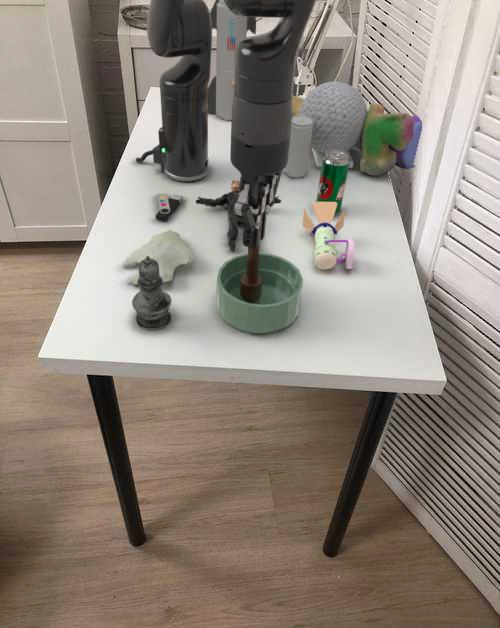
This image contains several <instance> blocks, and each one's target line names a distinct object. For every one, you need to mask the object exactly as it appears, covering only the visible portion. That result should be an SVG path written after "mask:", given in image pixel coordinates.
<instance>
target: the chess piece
mask: <svg viewBox="0 0 500 628" xmlns="http://www.w3.org/2000/svg"><path fill="white" fill-rule="evenodd" d="M138 268H139V277H140V278H139V279H138V281H137V284H138V285H137V286H138V287H139V292H137V293H136V294H135V295H134V297H132V300H131V305H132V308H133V309H134V311H135V313H136V317H135V322H136V324H137V326H138V327H139V328H141V329H143V330H146V331H151V332H152V331H158V330H162V329H164V328H166V327H167V326H168V325H169V324H170V322H171V318H172V316H171V313H170V312H169V309H170V307H171V305H172V302H173V301H172V300H173V299H172V297H171V295H170V294H169V293H168V292H166V290H163V289H162V285H163V283H164V282H163V281H162V278H161V277H160V275H159V265H158V263H157V261H155V260H154V259H150V257H149V256H147V257H146V258H145V259H144V260H142V261H141V262H140V263H138V265H137V269H138Z"/></svg>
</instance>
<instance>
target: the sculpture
mask: <svg viewBox="0 0 500 628" xmlns="http://www.w3.org/2000/svg"><path fill="white" fill-rule="evenodd" d="M367 111H368V113H367V117H366V120H365V124H364V128H363V135H362V143H361V159H360V162H359V165H360V167H359V168H360V169H359V170H360V172H361V173H365V174H367V175H370V176H381V175H384V174H387V173H389V172H390V171H392V170H393V169H394V167H395V166H396V165H395V163H396V159H397V155H396V152H395V151H393V150H389V149H388V146H389V144H390V145H391V146H392V147H393V148H395V149H396V150H399V151H402V150H403V149H404V148H405V147H406V145H407V144H408V143H409V142H410V141H411V140H412V139H413V126H414V124H415V121H414V119H413V117H412V115H411V114H409V113H407V112H395V113H387V112H386V113H387V114H383V112H385V107H384V105H382V104H381V103H378V102H372V103H370V105H369V107H368V109H367Z"/></svg>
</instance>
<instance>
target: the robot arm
mask: <svg viewBox="0 0 500 628" xmlns="http://www.w3.org/2000/svg"><path fill="white" fill-rule="evenodd" d="M317 1H318V0H224V2H225V4H226V5H227V7H228V8H229V9H230V10H231V12H233V13H234V14H235V15H238V16H242V17H256V18H280V19H279V21H278V23H277V24H276V25H275V27H273V28H272V29H271V30H269V31H267V32H264V33H261V34H257V35H256V34H255V35H253V36H249V37H246V39H244V40H242V41H241V42H240V43H239V44H238V46H237V49H236V57H235V91H234V99H233V105H232V120H230V121H231V123H230V125H231V126H230V153H229V154H230V155H229V156H230V159H229V160H230V163H231V165H232V166H233V167H234V168H235V169H236V170H237V171H238V173H240V175H241V176H240V177H239V180H238V181H239V186H238V189H239V191H240V196H239V198H238V200H237V201H233V200H231V202H230V204H229V207H228V210H229V209H230V212H231V214H232V217H233V220H234V222H235V225H236V227H238V229H242V245H243V246H244V247H246V248H248V247H249V248H253V249H256V248H257V246H258V243H259V230H260V219H261V214H262V213H263V215H262V228H261V241H263V239H264V238H265V237H266V224H267V218H268V216H269V214H270V208H273V206H274V205H275V204H274V200H275V197H277V192H278V188H279V183H280V180H281V177H282V172H283V170H285V167H286V165H287V162H288V153H289V143H290V134H291V124H292V95H294V85H295V76H296V75H295V73H296V65H297V60H298V59H297V58H298V55H299V51H300V47H301V45H302V41H303V38H304V34H305V32H306V29H307V27H308V24H309V22H310V18H311V16H312V15H313V11H314V9H315V7H316V3H317ZM148 6H149V7H148V11H147V18H146V35H147V40H148V44H149V46H150V47H149V48H150V49H151V51H152V52H153V53H154V54H155V55H156V56H158V57H159V58H166V59H168V58H170V59H171V58H178V57H181V58H180V59H179V60H178V61H177V62H176V63H175V64H174V65H172V66H170V67H169V68H168V69H167V70H165V71H164V72H162V74H161V75H160V77H159V93H160V109H161V110H160V111H161V112H160V113H161V127H160V128H159V129H158V144H157V145H156V146H154V147H153V148H152V149H150V150H148V151H146V152H144V153H143V154H142V155H141V156H140V157H136V158H135V162H136V163H143V162H144V161H145V160H146V159H147V158H148V157H150V156H152V157H153V163H154V164H157V165H160V172H161V173H163V174H165V176H166V177H167V178H168V179H170V180H173V181H176V182H184V183H189V182H197V181H200V180H202V179H204V178H205V177H207V176H208V174H209V163H210V161H209V160H210V158H209V113H208V88H209V83H210V80H211V78H210V77H211V68H212V67H211V63H212V45H213V30H212V22H211V16H210V12H211V11H210V9H209V7H208V5H207V3H206V2H205V0H150V2H149V5H148ZM253 214H254V215H255V218H253Z"/></svg>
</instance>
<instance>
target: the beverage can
mask: <svg viewBox="0 0 500 628" xmlns="http://www.w3.org/2000/svg"><path fill="white" fill-rule="evenodd" d="M312 129H313V120H312V119H311V118H309V117H306V116H294V117H292V124H291V134H290V143H289V153H288V162H287V165H286V167H285V168H284V172H285V173H286V175H287V176H288V177H290V178H293V179H300V178H303V177H304V176H306V175H307V173H308V165H309V156H310V149H311V147H310V143H311V136H312Z"/></svg>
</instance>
